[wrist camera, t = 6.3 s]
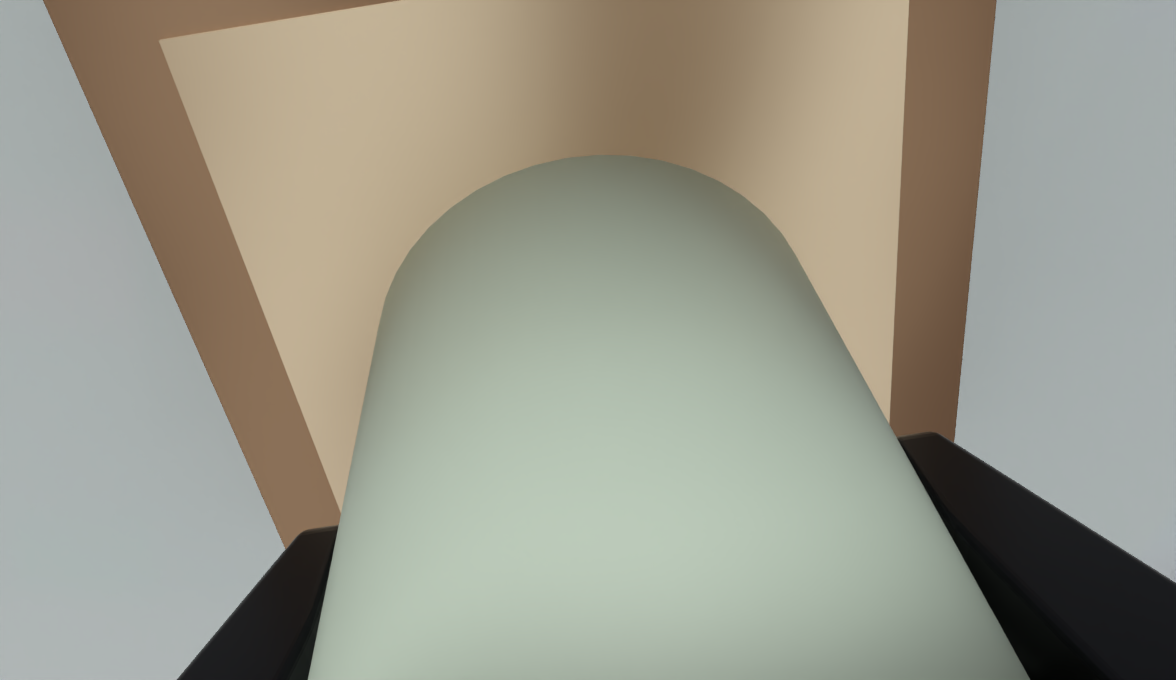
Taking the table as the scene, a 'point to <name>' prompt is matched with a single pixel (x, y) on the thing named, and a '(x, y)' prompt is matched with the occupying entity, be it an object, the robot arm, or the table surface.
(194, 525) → the table surface
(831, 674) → the sage capsule
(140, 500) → the table surface
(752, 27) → the plinth
